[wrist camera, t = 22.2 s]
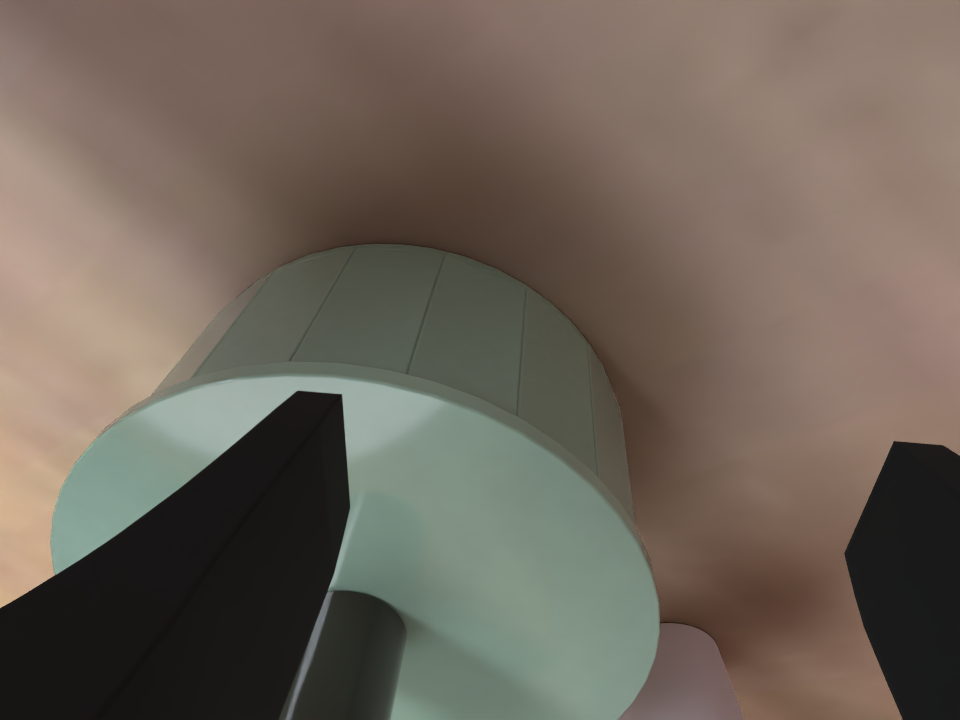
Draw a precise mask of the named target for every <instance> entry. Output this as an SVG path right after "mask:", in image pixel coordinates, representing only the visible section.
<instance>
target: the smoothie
mask: <svg viewBox="0 0 960 720" xmlns="http://www.w3.org/2000/svg"><path fill="white" fill-rule="evenodd" d="M618 720H744V717H743V714H742V711H741V709H740V706H739V703H738V701H737V698H736V695H735V692H734V690H733V687H732V684H731V682H730V679H729V676H728V673H727V671H726V668H725V665H724V663H723V660H722V657H721V655H720V652H719V649H718V646H717V644H716V643H715V641H714V640H713V639H712V638H711V637H710V636H709V635H708V634H706V633H705V632H703V631H702V630H700V629H697V628H695V627H692V626H688V625H684V624H677V623H661V624H660V635H659V641H658V647H657V653H656V657H655V660H654V662H653V665H652V667H651V670H650V673H649V675H648V678H647V680H646V682H645V684H644V686H643V687H642V689H641V690H640V692H639V694H638V695H637V697H636V698H635V700H634V702H633V703H632V704H631V705H630V707H629V708H628V709H627V710H626V711H625V712H624V713H623V714H622V715H621V717H620V718H619V719H618Z"/></svg>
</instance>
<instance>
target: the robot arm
mask: <svg viewBox="0 0 960 720" xmlns="http://www.w3.org/2000/svg"><path fill="white" fill-rule="evenodd" d="M349 511H350V496H349V482H348V468H347V454H346V441H345V427H344V413H343V399H342V394H333V393H321V392H309V391H296V392H295V393H294V394H293V395H291V396H290V397H289V398H288V399H287V400H285V401H284V402H283V403H282V404H280V405H279V406H278V407H277V408H276V409H274V410H273V411H272V412H271V413H270V414H269V415H267V416H266V417H265V418H264V419H263V420H262V421H260V422H259V423H258V424H257V425H256V426H255V427H253V428H252V429H251V430H250V431H249V432H247V433H246V434H245V435H244V436H243V437H242V438H240V439H239V440H238V441H237V442H236V443H235V444H233V445H232V446H231V447H230V448H229V449H227V450H226V451H225V452H224V453H223V454H221V455H220V456H219V457H218V458H216V459H215V460H214V461H213V462H212V463H210V464H209V465H208V466H207V467H205V468H204V469H203V470H202V471H200V472H199V473H198V474H197V475H196V476H194V477H193V478H192V479H191V480H189V481H188V482H187V483H186V484H184V485H183V486H182V487H181V488H179V489H178V490H177V491H175V492H174V493H173V494H171V495H170V496H169V497H167V498H166V499H165V500H163V501H162V502H161V503H159V504H158V505H157V506H155V507H154V508H152V509H151V510H150V511H148V512H147V513H146V514H144V515H143V516H142V517H140V518H139V519H138V520H136V521H135V522H134V523H132V524H131V525H130V526H128V527H127V528H126V529H124V530H123V531H122V532H120V533H119V534H117V535H116V536H114V537H113V538H111V539H110V540H109V541H107V542H106V543H104V544H103V545H101V546H100V547H98V548H97V549H95V550H94V551H92V552H91V553H89V554H88V555H86V556H85V557H83V558H82V559H80V560H79V561H77V562H76V563H74V564H72V565H71V566H69V567H68V568H66V569H64V570H63V571H61V572H60V573H58V574H56V575H55V576H53V577H52V578H50V579H48V580H47V581H45V582H44V583H42V584H40V585H39V586H37V587H36V588H34V589H32V590H31V591H29V592H27V593H26V594H24V595H22V596H21V597H19V598H17V599H16V600H14V601H12V602H11V603H9V604H7V605H5V606H3V607H2V608H0V720H279V717H280V715H281V712H282V709H283V707H284V704H285V702H286V699H287V696H288V694H289V691H290V689H291V686H292V683H293V681H294V678H295V676H296V673H297V670H298V668H299V665H300V663H301V660H302V657H303V655H304V652H305V650H306V647H307V644H308V642H309V639H310V637H311V634H312V631H313V629H314V626H315V623H316V621H317V618H318V615H319V613H320V610H321V608H322V605H323V602H324V600H325V597H326V594H327V592H328V589H329V586H330V583H331V581H332V578H333V575H334V572H335V568H336V564H337V560H338V556H339V552H340V549H341V545H342V540H343V536H344V532H345V528H346V524H347V519H348V515H349ZM844 554H845V558H846V562H847V566H848V570H849V574H850V578H851V582H852V586H853V590H854V594H855V598H856V601H857V605H858V608H859V611H860V615H861V618H862V622H863V625H864V628H865V630H866V633H867V635H868V638H869V640H870V643H871V645H872V648H873V650H874V653H875V655H876V657H877V660H878V662H879V665H880V667H881V669H882V672H883V674H884V677H885V679H886V681H887V684H888V686H889V688H890V691H891V693H892V695H893V698H894V700H895V702H896V705H897V707H898V709H899V712H900V714H901V716H902V719H903V720H960V456H959V455H958V454H956V453H954V452H953V451H951V450H949V449H948V448H946V447H945V446H943V445H932V444H920V443H909V442H897V441H894V442H893V445H892V447H891V449H890V451H889V454H888V456H887V458H886V460H885V463H884V465H883V467H882V469H881V472H880V474H879V476H878V478H877V481H876V483H875V485H874V487H873V490H872V492H871V494H870V496H869V499H868V501H867V503H866V506H865V508H864V510H863V512H862V515H861V517H860V519H859V521H858V524H857V526H856V528H855V530H854V533H853V535H852V537H851V539H850V542H849V544H848V546H847V548H846V551H845V553H844Z"/></svg>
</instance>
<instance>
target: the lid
mask: <svg viewBox="0 0 960 720" xmlns="http://www.w3.org/2000/svg"><path fill="white" fill-rule="evenodd" d="M296 391H309V392H321V393H333V394H342V399H343V413H344V427H345V441H346V454H347V468H348V482H349V496H350V511H349V515H348V519H347V524H346V528H345V532H344V536H343V540H342V545H341V549H340V552H339V556H338V560H337V564H336V568H335V572H334V575H333V578H332V581H331V583H330V586H329V589H328V592H327V594H326V597H325V600H324V602H323V605H322V608H321V610H320V613H319V615H318V618H317V621H316V623H315V626H314V629H313V631H312V634H311V637H310V639H309V642H308V644H307V647H306V650H305V652H304V655H303V657H302V660H301V663H300V665H299V668H298V670H297V673H296V676H295V678H294V681H293V683H292V686H291V689H290V691H289V694H288V696H287V699H286V702H285V704H284V707H283V709H282V712H281V715H280V717H279V720H618V719H619V718H620V717H621V715H622V714H623V713H624V712H625V711H626V710H627V709H628V708H629V707H630V705H631V704H632V703H633V702H634V700H635V698H636V697H637V695H638V694H639V692H640V690H641V689H642V687H643V686H644V684H645V682H646V680H647V678H648V675H649V673H650V670H651V667H652V665H653V662H654V660H655V657H656V653H657V647H658V641H659V635H660V605H659V596H658V589H657V585H656V580H655V576H654V572H653V568H652V563H651V559H650V557H649V555H648V552H647V550H646V548H645V545H644V543H643V541H642V539H641V536H640V534H639V532H638V530H637V528H636V526H635V525H634V523H633V522H632V520H631V519H630V517H629V516H628V514H627V513H626V511H625V510H624V508H623V507H622V505H621V504H620V502H619V501H618V499H617V498H616V497H615V496H614V495H613V494H612V492H611V491H610V490H609V489H608V488H607V487H606V486H605V485H604V484H603V482H602V481H601V480H600V479H599V478H598V477H597V476H596V475H595V473H594V472H593V471H592V470H591V469H590V468H588V467H587V466H586V465H585V464H584V463H583V462H581V461H580V460H579V459H578V458H577V457H575V456H574V455H573V454H572V453H571V452H570V451H568V450H567V449H566V448H565V447H564V446H563V445H561V444H560V443H559V442H557V441H556V440H554V439H553V438H551V437H550V436H548V435H547V434H545V433H543V432H542V431H540V430H539V429H537V428H536V427H534V426H533V425H531V424H530V423H528V422H527V421H525V420H524V419H522V418H520V417H518V416H516V415H514V414H512V413H510V412H508V411H506V410H504V409H502V408H500V407H498V406H496V405H494V404H492V403H490V402H488V401H486V400H484V399H482V398H480V397H477V396H474V395H472V394H469V393H466V392H463V391H461V390H458V389H455V388H453V387H450V386H447V385H444V384H442V383H439V382H436V381H433V380H429V379H425V378H421V377H417V376H413V375H409V374H405V373H401V372H397V371H393V370H389V369H383V368H376V367H369V366H361V365H354V364H347V363H340V362H307V361H286V362H275V363H264V364H252V365H244V366H239V367H235V368H230V369H225V370H221V371H216V372H211V373H207V374H203V375H200V376H197V377H194V378H192V379H189V380H186V381H183V382H181V383H178V384H175V385H172V386H170V387H167V388H164V389H162V390H161V391H159V392H157V393H155V394H153V395H151V396H150V397H148V398H146V399H144V400H142V401H141V402H139V403H137V404H135V405H133V406H132V407H130V408H129V409H128V410H127V411H125V412H124V413H123V414H122V415H120V416H119V417H118V418H116V419H115V420H114V421H113V422H111V423H110V424H109V425H108V426H106V427H105V428H104V430H103V431H102V432H101V433H100V434H99V435H98V436H97V438H96V439H95V440H94V441H93V442H92V443H91V445H90V446H89V447H88V448H87V449H86V450H85V452H84V453H83V454H82V455H81V456H80V457H79V459H78V460H77V461H76V462H75V464H74V465H73V467H72V469H71V471H70V473H69V474H68V476H67V478H66V480H65V482H64V484H63V485H62V487H61V490H60V493H59V496H58V500H57V503H56V506H55V510H54V513H53V518H52V530H51V543H50V544H51V553H52V561H53V570H54V573H55V575H56V574H58V573H60V572H61V571H63V570H64V569H66V568H68V567H69V566H71V565H72V564H74V563H76V562H77V561H79V560H80V559H82V558H83V557H85V556H86V555H88V554H89V553H91V552H92V551H94V550H95V549H97V548H98V547H100V546H101V545H103V544H104V543H106V542H107V541H109V540H110V539H111V538H113V537H114V536H116V535H117V534H119V533H120V532H122V531H123V530H124V529H126V528H127V527H128V526H130V525H131V524H132V523H134V522H135V521H136V520H138V519H139V518H140V517H142V516H143V515H144V514H146V513H147V512H148V511H150V510H151V509H152V508H154V507H155V506H157V505H158V504H159V503H161V502H162V501H163V500H165V499H166V498H167V497H169V496H170V495H171V494H173V493H174V492H175V491H177V490H178V489H179V488H181V487H182V486H183V485H184V484H186V483H187V482H188V481H189V480H191V479H192V478H193V477H194V476H196V475H197V474H198V473H199V472H200V471H202V470H203V469H204V468H205V467H207V466H208V465H209V464H210V463H212V462H213V461H214V460H215V459H216V458H218V457H219V456H220V455H221V454H223V453H224V452H225V451H226V450H227V449H229V448H230V447H231V446H232V445H233V444H235V443H236V442H237V441H238V440H239V439H240V438H242V437H243V436H244V435H245V434H246V433H247V432H249V431H250V430H251V429H252V428H253V427H255V426H256V425H257V424H258V423H259V422H260V421H262V420H263V419H264V418H265V417H266V416H267V415H269V414H270V413H271V412H272V411H273V410H274V409H276V408H277V407H278V406H279V405H280V404H282V403H283V402H284V401H285V400H287V399H288V398H289V397H290V396H291V395H293V394H294V393H295V392H296Z"/></svg>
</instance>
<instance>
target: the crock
mask: <svg viewBox="0 0 960 720" xmlns="http://www.w3.org/2000/svg"><path fill="white" fill-rule="evenodd" d="M286 361H307V362H340V363H347V364H354V365H361V366H369V367H376V368H383V369H389V370H393V371H397V372H401V373H405V374H409V375H413V376H417V377H421V378H425V379H429V380H433V381H436V382H439V383H442V384H444V385H447V386H450V387H453V388H455V389H458V390H461V391H463V392H466V393H469V394H472V395H474V396H477V397H480V398H482V399H484V400H486V401H488V402H490V403H492V404H494V405H496V406H498V407H500V408H502V409H504V410H506V411H508V412H510V413H512V414H514V415H516V416H518V417H520V418H522V419H524V420H525V421H527V422H528V423H530V424H531V425H533V426H534V427H536V428H537V429H539V430H540V431H542V432H543V433H545V434H547V435H548V436H550V437H551V438H553V439H554V440H556V441H557V442H559V443H560V444H561V445H563V446H564V447H565V448H566V449H567V450H568V451H570V452H571V453H572V454H573V455H574V456H575V457H577V458H578V459H579V460H580V461H581V462H583V463H584V464H585V465H586V466H587V467H588V468H590V469H591V470H592V471H593V472H594V473H595V475H596V476H597V477H598V478H599V479H600V480H601V481H602V482H603V484H604V485H605V486H606V487H607V488H608V489H609V490H610V491H611V492H612V494H613V495H614V496H615V497H616V498H617V499H618V501H619V502H620V504H621V505H622V507H623V508H624V510H625V511H626V513H627V514H628V516H629V517H630V519H631V520H632V522H633V523H634V525H635V526H636V522H635V515H634V507H633V500H632V492H631V484H630V477H629V469H628V462H627V454H626V446H625V439H624V431H623V424H622V416H621V409H620V405H619V403H618V401H617V399H616V397H615V395H614V391H613V389H612V386H611V384H610V381H609V379H608V377H607V374H606V372H605V369H604V367H603V365H602V364H601V362H600V360H599V359H598V357H597V355H596V354H595V352H594V350H593V349H592V347H591V345H590V344H589V343H588V342H587V340H586V339H585V338H584V337H583V335H582V334H581V333H580V332H579V330H578V329H577V328H576V327H575V326H574V324H573V323H572V322H571V321H570V320H569V319H568V318H567V317H566V316H564V315H563V314H562V313H561V312H560V311H559V310H558V309H557V308H556V307H555V306H554V305H553V304H552V303H551V302H549V301H548V300H546V299H545V298H544V297H542V296H541V295H539V294H538V293H537V292H535V291H534V290H532V289H531V288H530V287H528V286H527V285H526V284H524V283H522V282H520V281H518V280H516V279H515V278H513V277H511V276H509V275H507V274H505V273H504V272H502V271H500V270H498V269H496V268H493V267H491V266H488V265H486V264H483V263H481V262H478V261H476V260H473V259H471V258H468V257H465V256H461V255H457V254H453V253H450V252H446V251H442V250H438V249H434V248H427V247H419V246H412V245H405V244H363V245H355V246H346V247H338V248H334V249H330V250H326V251H322V252H318V253H314V254H310V255H307V256H305V257H302V258H300V259H297V260H295V261H292V262H290V263H287V264H285V265H282V266H280V267H279V268H277V269H275V270H273V271H272V272H270V273H268V274H267V275H265V276H263V277H262V278H260V279H258V280H257V281H256V282H255V283H253V284H252V285H251V286H250V287H249V288H247V289H246V290H245V291H244V292H242V293H241V294H240V295H239V296H238V297H237V298H236V299H235V300H234V301H233V302H232V303H230V304H229V305H228V306H226V307H225V308H224V309H223V310H221V311H220V312H219V313H218V314H217V315H216V317H215V318H214V319H213V320H212V322H211V323H210V324H209V325H208V326H207V328H206V329H205V330H204V331H203V333H202V334H201V335H200V336H199V337H198V339H197V340H196V341H195V342H194V343H193V345H192V346H191V347H190V348H189V350H188V351H187V352H186V353H185V354H184V356H183V357H182V358H181V359H180V361H179V362H178V363H177V364H176V365H175V367H174V368H173V369H172V370H171V372H170V373H169V374H168V375H167V376H166V378H165V379H164V380H163V381H162V382H161V384H160V385H159V386H158V387H157V389H156V390H155V391H154V392H153V393H152V395H153V394H155V393H157V392H159V391H161V390H162V389H164V388H167V387H170V386H172V385H175V384H178V383H181V382H183V381H186V380H189V379H192V378H194V377H197V376H200V375H203V374H207V373H211V372H216V371H221V370H225V369H230V368H235V367H239V366H244V365H252V364H264V363H275V362H286Z"/></svg>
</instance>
